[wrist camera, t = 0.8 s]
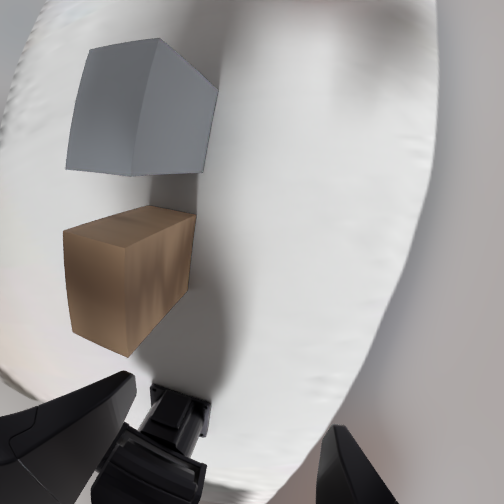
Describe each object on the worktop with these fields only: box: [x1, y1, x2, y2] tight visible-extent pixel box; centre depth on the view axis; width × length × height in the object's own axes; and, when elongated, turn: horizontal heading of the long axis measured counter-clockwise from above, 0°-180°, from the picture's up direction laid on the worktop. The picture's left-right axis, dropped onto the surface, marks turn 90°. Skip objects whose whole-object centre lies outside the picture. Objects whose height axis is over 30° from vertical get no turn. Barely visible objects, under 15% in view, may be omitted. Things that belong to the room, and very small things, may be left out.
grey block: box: [66, 38, 218, 177], centre depth 14 cm, size 6×4×9 cm, turn 170°
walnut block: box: [63, 206, 196, 358], centre depth 16 cm, size 6×4×9 cm, turn 170°
